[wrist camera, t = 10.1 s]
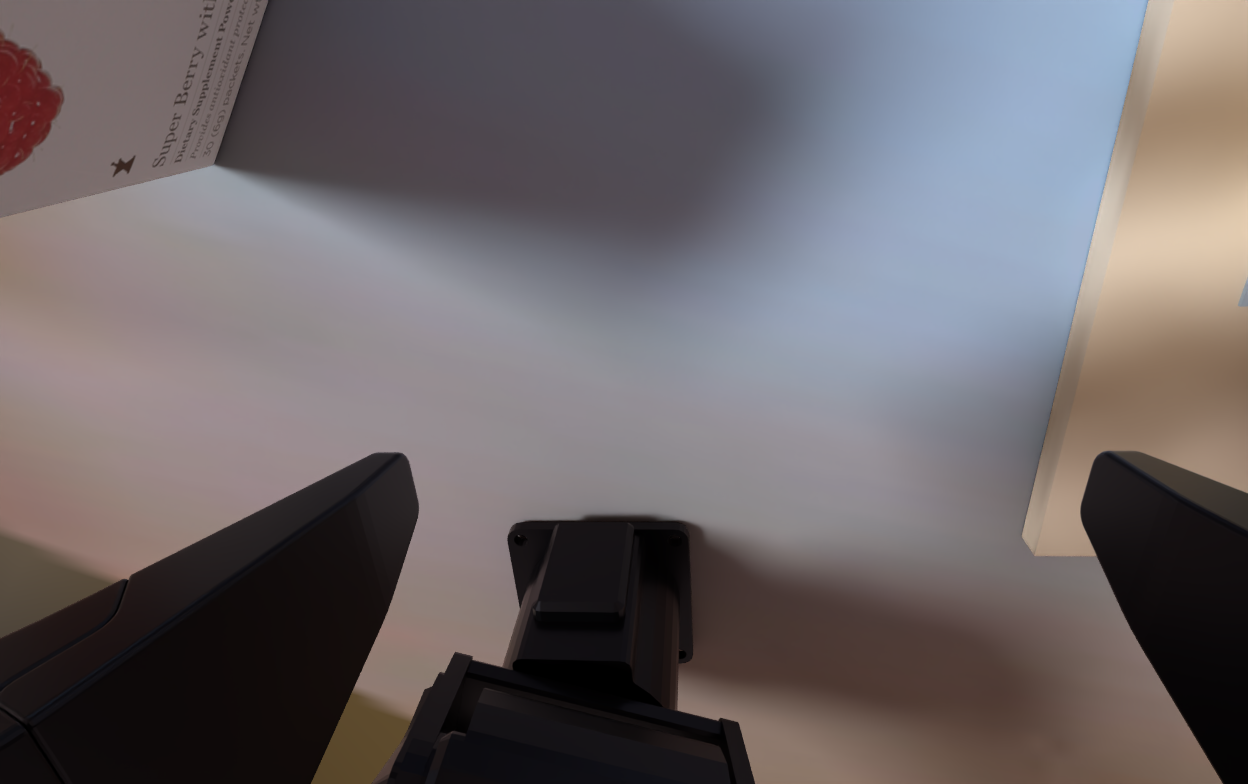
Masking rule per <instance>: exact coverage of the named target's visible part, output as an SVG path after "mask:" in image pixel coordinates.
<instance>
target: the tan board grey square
mask: <svg viewBox="0 0 1248 784" xmlns="http://www.w3.org/2000/svg"><path fill="white" fill-rule="evenodd" d="M1103 451H1139V452H1143V453H1145V454H1148V455H1150V456H1153V457H1156V458H1158V459H1161V460H1163V461H1166V462H1168V463H1171V464H1174V465H1176V466H1179V467H1181V468H1184V469H1187V470H1189V471H1192V472H1194V473H1197V474H1199V475H1202V476H1205V477H1207V478H1210V479H1212V480H1215V481H1218V482H1220V483H1223V484H1225V485H1228V486H1231V487H1233V488H1236V489H1238V490H1241V491H1243V492H1246V493H1248V0H1149V1H1148V5H1147V10H1146V14H1145V18H1144V22H1143V27H1142V31H1141V35H1140V39H1139V43H1138V48H1137V52H1136V56H1135V60H1134V65H1133V69H1132V73H1131V77H1130V81H1129V86H1128V90H1127V94H1126V98H1125V102H1124V107H1123V111H1122V115H1121V119H1120V124H1119V128H1118V132H1117V136H1116V140H1115V145H1114V149H1113V153H1112V157H1111V162H1110V166H1109V170H1108V174H1107V178H1106V183H1105V187H1104V191H1103V195H1102V200H1101V204H1100V208H1099V212H1098V216H1097V221H1096V225H1095V229H1094V233H1093V237H1092V242H1091V246H1090V250H1089V254H1088V259H1087V263H1086V267H1085V271H1084V275H1083V280H1082V284H1081V288H1080V292H1079V297H1078V301H1077V305H1076V309H1075V313H1074V318H1073V322H1072V326H1071V330H1070V335H1069V339H1068V343H1067V347H1066V351H1065V356H1064V360H1063V364H1062V368H1061V372H1060V377H1059V381H1058V385H1057V389H1056V394H1055V398H1054V402H1053V406H1052V410H1051V415H1050V419H1049V423H1048V427H1047V432H1046V436H1045V440H1044V444H1043V448H1042V453H1041V457H1040V461H1039V465H1038V470H1037V474H1036V478H1035V482H1034V486H1033V491H1032V495H1031V499H1030V503H1029V507H1028V512H1027V516H1026V520H1025V524H1024V529H1023V533H1022V538H1023V539H1024V541H1025V542H1026V544H1027V545H1028V547H1029V548H1030V550H1031V551H1032V553H1033V554H1034V556H1097V555H1096V553H1095V551H1094V549H1093V547H1092V544H1091V542H1090V540H1089V538H1088V536H1087V533H1086V531H1085V529H1084V527H1083V524H1082V521H1081V516H1080V507H1081V502H1082V498H1083V495H1084V491H1085V488H1086V485H1087V481H1088V478H1089V474H1090V471H1091V467H1092V464H1093V461H1094V459H1095V458H1096V456H1097V455H1098V454H1100V453H1101V452H1103Z"/></svg>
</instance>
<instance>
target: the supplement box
mask: <svg viewBox="0 0 1248 784" xmlns="http://www.w3.org/2000/svg"><path fill="white" fill-rule="evenodd" d="M267 3H268V0H0V218H1V217H5V216H9V215H13V214H17V213H21V212H25V211H29V210H34V209H38V208H42V207H46V206H50V205H54V204H58V203H62V202H66V201H70V200H74V199H78V198H82V197H87V196H91V195H95V194H99V193H103V192H107V191H111V190H115V189H119V188H123V187H127V186H131V185H135V184H140V183H144V182H148V181H151V180H155V179H159V178H163V177H168V176H172V175H176V174H180V173H184V172H188V171H192V170H196V169H200V168H204V167H208V166H211V165H213V164H214V162H215V159H216V156H217V153H218V150H219V147H220V144H221V142H222V139H223V136H224V133H225V130H226V127H227V124H228V121H229V118H230V115H231V112H232V109H233V106H234V103H235V100H236V96H237V93H238V90H239V87H240V84H241V81H242V78H243V76H244V73H245V70H246V67H247V64H248V61H249V58H250V55H251V52H252V49H253V46H254V43H255V40H256V37H257V34H258V31H259V28H260V24H261V21H262V18H263V15H264V12H265V9H266V6H267Z"/></svg>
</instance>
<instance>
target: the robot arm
mask: <svg viewBox="0 0 1248 784" xmlns="http://www.w3.org/2000/svg"><path fill="white" fill-rule="evenodd" d="M418 513H419V503H418V498H417V494H416V489H415V485H414V481H413V477H412V472H411V468H410V464H409V461H408V459H407V457H406V456H405V455H404V454H402V453H398V452H384V453H374V454H371V455H369V456H367V457H365V458H363V459H361V460H359V461H357V462H355V463H353V464H351V465H349V466H347V467H345V468H343V469H341V470H339V471H337V472H335V473H333V474H331V475H329V476H327V477H325V478H323V479H321V480H319V481H317V482H315V483H313V484H312V485H310V486H308V487H306V488H304V489H302V490H300V491H298V492H296V493H294V494H292V495H290V496H288V497H286V498H284V499H282V500H280V501H278V502H276V503H274V504H272V505H270V506H268V507H266V508H264V509H262V510H260V511H258V512H256V513H254V514H252V515H250V516H248V517H246V518H244V519H242V520H240V521H238V522H236V523H234V524H232V525H230V526H228V527H226V528H224V529H222V530H220V531H218V532H216V533H214V534H212V535H210V536H208V537H206V538H204V539H202V540H200V541H198V542H196V543H194V544H192V545H190V546H188V547H186V548H184V549H182V550H180V551H178V552H176V553H174V554H172V555H170V556H168V557H166V558H164V559H162V560H160V561H158V562H156V563H154V564H152V565H150V566H148V567H146V568H144V569H142V570H140V571H138V572H136V573H134V574H132V575H131V576H130V578H129V580H127V579H122V580H120V581H118V582H116V583H114V584H112V585H110V586H108V587H106V588H104V589H102V590H100V591H98V592H97V593H94V594H92V595H90V596H88V597H86V598H84V599H82V600H80V601H78V602H76V603H74V604H71V605H70V606H67V607H65V608H63V609H61V610H59V611H57V612H55V613H53V614H51V615H49V616H47V617H45V618H43V619H41V620H39V621H37V622H34V623H32V624H30V625H28V626H26V627H23V628H21V629H19V630H17V631H15V632H12V633H10V634H8V635H6V636H4V637H2V638H0V784H311V782H312V780H313V777H314V775H315V773H316V771H317V769H318V766H319V764H320V762H321V760H322V757H323V755H324V753H325V751H326V749H327V746H328V744H329V742H330V740H331V737H332V735H333V733H334V731H335V728H336V726H337V724H338V721H339V720H340V717H341V715H342V713H343V711H344V709H345V706H346V704H347V702H348V700H349V697H350V695H351V693H352V691H353V688H354V686H355V684H356V682H357V680H358V677H359V675H360V673H361V671H362V668H363V666H364V664H365V662H366V660H367V657H368V655H369V653H370V651H371V648H372V646H373V644H374V642H375V639H376V637H377V635H378V633H379V631H380V628H381V626H382V624H383V621H384V619H385V616H386V614H387V612H388V609H389V606H390V603H391V600H392V598H393V595H394V591H395V588H396V585H397V582H398V579H399V576H400V573H401V569H402V566H403V563H404V560H405V557H406V554H407V551H408V547H409V544H410V541H411V538H412V535H413V532H414V528H415V525H416V522H417V519H418ZM1080 516H1081V521H1082V524H1083V527H1084V529H1085V531H1086V533H1087V536H1088V538H1089V540H1090V542H1091V544H1092V547H1093V549H1094V551H1095V553H1096V555H1097V558H1098V560H1099V562H1100V564H1101V566H1102V568H1103V571H1104V573H1105V575H1106V577H1107V579H1108V582H1109V584H1110V586H1111V588H1112V590H1113V592H1114V595H1115V597H1116V599H1117V601H1118V603H1119V606H1120V608H1121V610H1122V612H1123V614H1124V616H1125V618H1126V620H1127V622H1128V624H1129V626H1130V628H1131V630H1132V632H1133V634H1134V635H1135V637H1136V639H1137V641H1138V642H1139V644H1140V646H1141V648H1142V649H1143V651H1144V653H1145V654H1146V656H1147V658H1148V659H1149V661H1150V663H1151V664H1152V666H1153V668H1154V669H1155V671H1156V673H1157V674H1158V676H1159V678H1160V680H1161V681H1162V683H1163V685H1164V686H1165V688H1166V690H1167V691H1168V693H1169V695H1170V696H1171V698H1172V700H1173V701H1174V703H1175V705H1176V706H1177V708H1178V710H1179V711H1180V713H1181V715H1182V716H1183V718H1184V720H1185V721H1186V723H1187V725H1188V726H1189V728H1190V730H1191V731H1192V733H1193V735H1194V736H1195V738H1196V740H1197V741H1198V743H1199V745H1200V746H1201V748H1202V750H1203V751H1204V753H1205V755H1206V756H1207V758H1208V760H1209V761H1210V763H1211V765H1212V766H1213V768H1214V770H1215V771H1216V773H1217V775H1218V776H1219V778H1220V780H1221V781H1222V783H1223V784H1248V493H1246V492H1243V491H1241V490H1238V489H1236V488H1233V487H1231V486H1228V485H1225V484H1223V483H1220V482H1218V481H1215V480H1212V479H1210V478H1207V477H1205V476H1202V475H1199V474H1197V473H1194V472H1192V471H1189V470H1187V469H1184V468H1181V467H1179V466H1176V465H1174V464H1171V463H1168V462H1166V461H1163V460H1161V459H1158V458H1156V457H1153V456H1150V455H1148V454H1145V453H1143V452H1139V451H1103V452H1101V453H1100V454H1098V455H1097V456H1096V458H1095V459H1094V461H1093V464H1092V467H1091V471H1090V474H1089V478H1088V481H1087V485H1086V488H1085V491H1084V495H1083V498H1082V502H1081V507H1080ZM518 535H524V536H525V537H527V539H522V538H520V537H518ZM672 535H677V536H679V537H680V538H679V539H671V538H670V536H672ZM507 541H508V546H509V552H510V557H511V562H512V568H513V573H514V579H515V584H516V590H517V595H518V600H519V606H520V611H519V614H518V618H517V621H516V624H515V627H514V631H513V634H512V637H511V640H510V644H509V647H508V650H507V653H506V657H505V660H504V663H503V666H502V667H500V666H496V665H492V664H488V663H484V662H479V661H475V660H472V659H473V656H470V655H466V654H462V653H458V652H455V653H454V655H453V657H452V659H451V661H450V663H449V665H448V667H447V669H446V671H445V673H442V672H440V673H439V674H438V676H437V678H436V680H435V682H434V684H433V686H432V687H430V688H427V689H425V690H424V692H423V695H422V697H421V700H420V702H419V704H418V707H417V709H416V711H415V714H414V716H413V719H412V721H411V723H410V726H409V728H408V730H407V732H406V734H405V736H404V738H403V740H402V741H401V743H400V745H399V746H398V747H397V749H396V750H395V752H394V753H393V754H392V756H391V757H390V759H389V760H388V761H387V763H386V764H385V766H384V767H383V769H382V770H381V772H380V773H379V774H378V775H377V777H376V778H375V780H374V781H373V782H372V784H755V782H754V778H753V774H752V771H751V767H750V763H749V759H748V756H747V752H746V748H745V745H744V741H743V737H742V733H741V730H740V726H739V723H738V722H735V721H731V720H727V719H723V718H720V719H719V721H717V720H713V719H709V718H705V717H701V716H697V715H693V714H689V713H685V712H681V711H677V701H678V663H679V664H681V663H686V662H688V661H690V660H691V659H692V656H693V634H692V606H691V577H690V548H689V532H688V529H687V528H686V527H685V526H684V525H682V524H680V523H676V522H521V523H516V524H514V525H513V526H512V527H511V529H510V532H509V534H508V540H507ZM679 649H680V650H683V651H679Z"/></svg>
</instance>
